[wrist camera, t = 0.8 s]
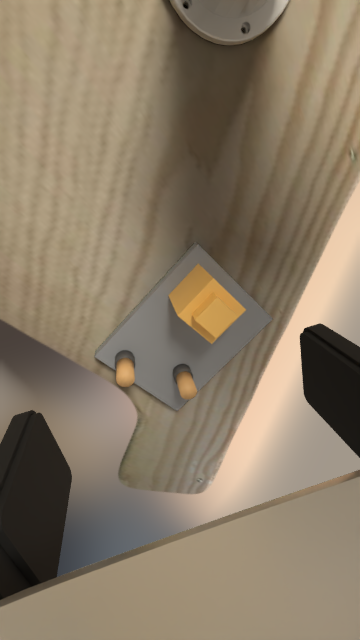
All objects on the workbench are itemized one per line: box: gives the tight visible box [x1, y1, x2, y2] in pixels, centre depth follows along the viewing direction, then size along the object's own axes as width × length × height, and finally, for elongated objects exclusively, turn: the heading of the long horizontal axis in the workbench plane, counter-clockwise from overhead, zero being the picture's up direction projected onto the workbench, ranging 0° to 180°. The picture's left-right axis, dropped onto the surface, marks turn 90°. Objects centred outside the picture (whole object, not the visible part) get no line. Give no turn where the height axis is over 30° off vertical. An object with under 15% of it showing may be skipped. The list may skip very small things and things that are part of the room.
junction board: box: [95, 242, 273, 411], centre depth 37 cm, size 18×14×6 cm
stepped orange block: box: [168, 264, 246, 344], centre depth 33 cm, size 5×5×8 cm
